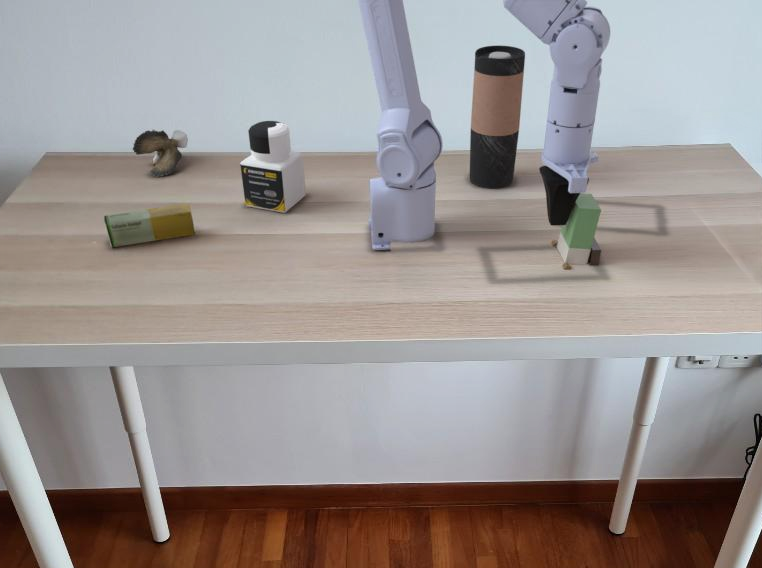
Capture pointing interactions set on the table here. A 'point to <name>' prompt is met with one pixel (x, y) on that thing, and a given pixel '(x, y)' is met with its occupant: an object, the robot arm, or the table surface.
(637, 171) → the table surface
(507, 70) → the travel mug
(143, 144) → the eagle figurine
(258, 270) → the table surface
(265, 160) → the medicine bottle
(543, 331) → the table surface
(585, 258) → the block
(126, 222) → the medication box
